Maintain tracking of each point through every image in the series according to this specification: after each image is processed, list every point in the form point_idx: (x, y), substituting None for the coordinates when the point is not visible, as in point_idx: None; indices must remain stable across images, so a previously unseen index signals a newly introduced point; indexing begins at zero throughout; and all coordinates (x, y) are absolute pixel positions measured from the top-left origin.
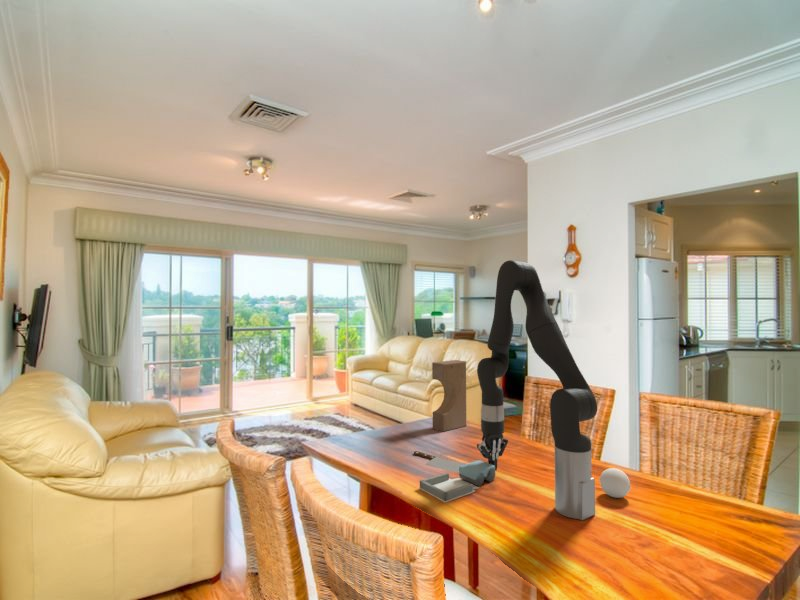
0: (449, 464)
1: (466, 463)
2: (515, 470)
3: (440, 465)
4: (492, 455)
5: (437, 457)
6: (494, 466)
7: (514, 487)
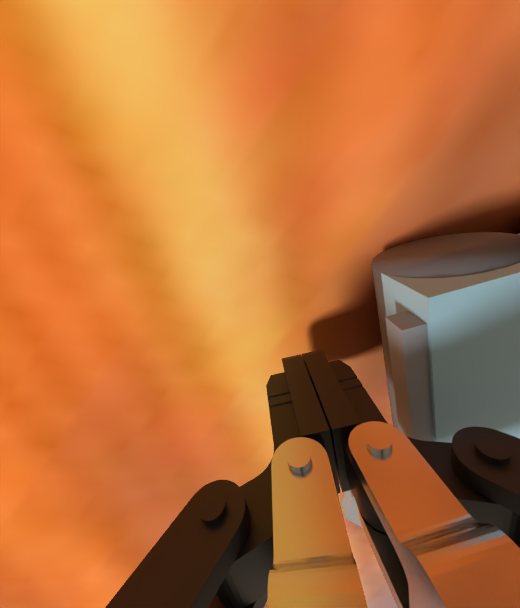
0: None
1: (359, 524)
2: (74, 362)
3: None
4: (445, 491)
5: None
6: (442, 292)
7: (306, 9)
